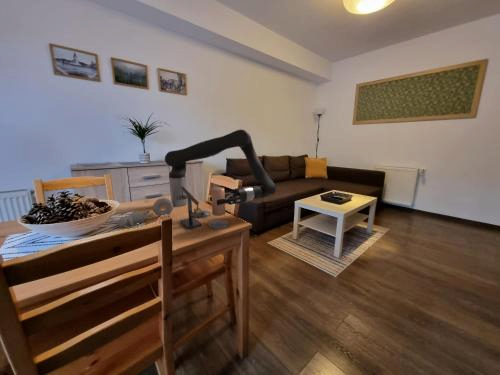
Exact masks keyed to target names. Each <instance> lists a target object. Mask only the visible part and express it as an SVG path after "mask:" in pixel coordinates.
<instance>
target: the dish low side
mask: <svg viewBox="0 0 500 375" xmlns="http://www.w3.org/2000/svg"><path fill="white" fill-rule="evenodd" d="M208 223H209V224H208V227H209V228H210V229H213V230H222V229H226V228H227V227H229V222H228V221H227V220H225V219H216V220H211V221H210V222H208Z"/></svg>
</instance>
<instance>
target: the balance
mask: <svg viewBox="0 0 500 375" xmlns="http://www.w3.org/2000/svg"><path fill="white" fill-rule="evenodd" d="M181 190H182V195H180V196H177V197H176V198H177V199H179V200H183V199H187V211H188V212H187V213H188V218H185V219H181V220H180V221H179V224H180V225H182V226H183V227H184V228H186V230H188V231H189V230H192V229H193V230H194V229H196V228H200V227H203V223H202V222H201V221H199V219H196V218H197V217H201V216H204V215H205V212H203V211H201V210H202V208H200V207H199V203H200V202H199V201H198V200H197V199H196V198H195V197H194V196H193V195H192V194H191V193H190V192H189V191H188V190H187V188H186V189H185V188H184V187H181ZM183 192H184V193H185V194H186V195H183ZM192 202H193V203H194V205H195V206H196V207H195V208H193V204H192Z"/></svg>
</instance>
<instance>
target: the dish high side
mask: <svg viewBox="0 0 500 375" xmlns="http://www.w3.org/2000/svg"><path fill="white" fill-rule="evenodd" d="M201 211H203V212H205V215H204V216H201V217H196V218H198V219H204V218H208V217H210V216H211V215H212V214H211V211H210V210H205V209H201Z"/></svg>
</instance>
